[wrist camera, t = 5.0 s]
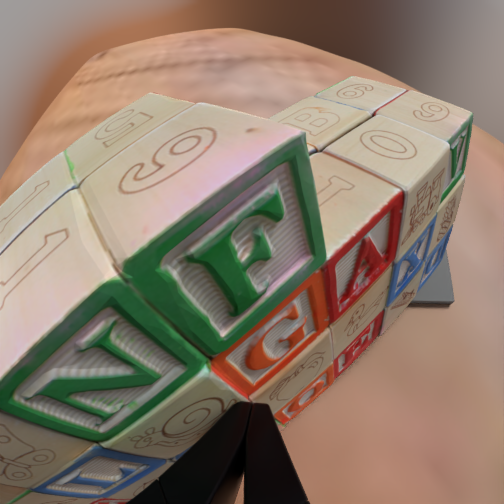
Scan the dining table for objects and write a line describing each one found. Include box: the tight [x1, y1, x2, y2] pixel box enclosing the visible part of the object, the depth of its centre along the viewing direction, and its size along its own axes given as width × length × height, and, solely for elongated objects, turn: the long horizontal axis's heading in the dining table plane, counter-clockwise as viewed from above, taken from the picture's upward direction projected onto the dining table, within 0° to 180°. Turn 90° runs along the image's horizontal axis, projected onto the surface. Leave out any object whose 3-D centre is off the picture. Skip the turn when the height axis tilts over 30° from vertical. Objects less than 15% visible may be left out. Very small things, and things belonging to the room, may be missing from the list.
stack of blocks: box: [0, 76, 473, 504], centre depth 10 cm, size 21×6×12 cm, turn 130°
